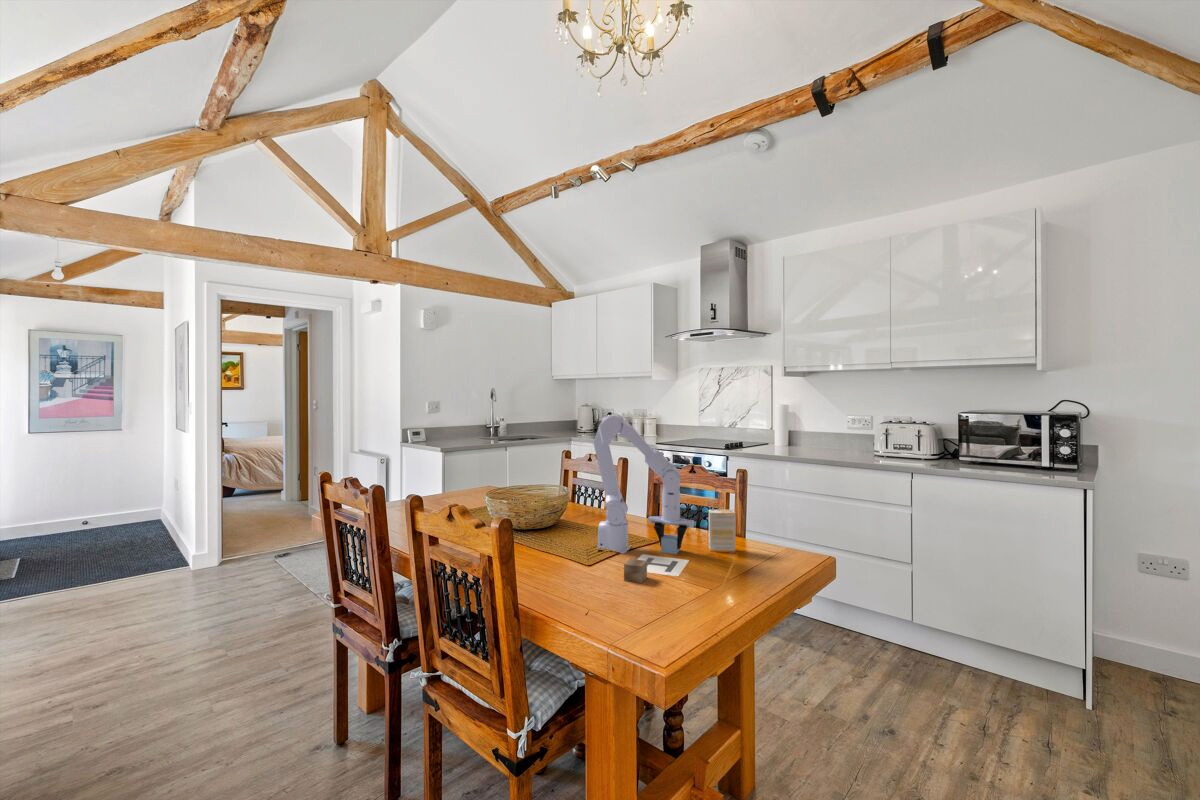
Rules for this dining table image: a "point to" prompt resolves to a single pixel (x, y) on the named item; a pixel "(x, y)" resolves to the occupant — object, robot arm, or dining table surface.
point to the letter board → (664, 565)
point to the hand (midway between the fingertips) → (670, 547)
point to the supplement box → (722, 530)
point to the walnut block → (635, 570)
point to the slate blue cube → (669, 544)
